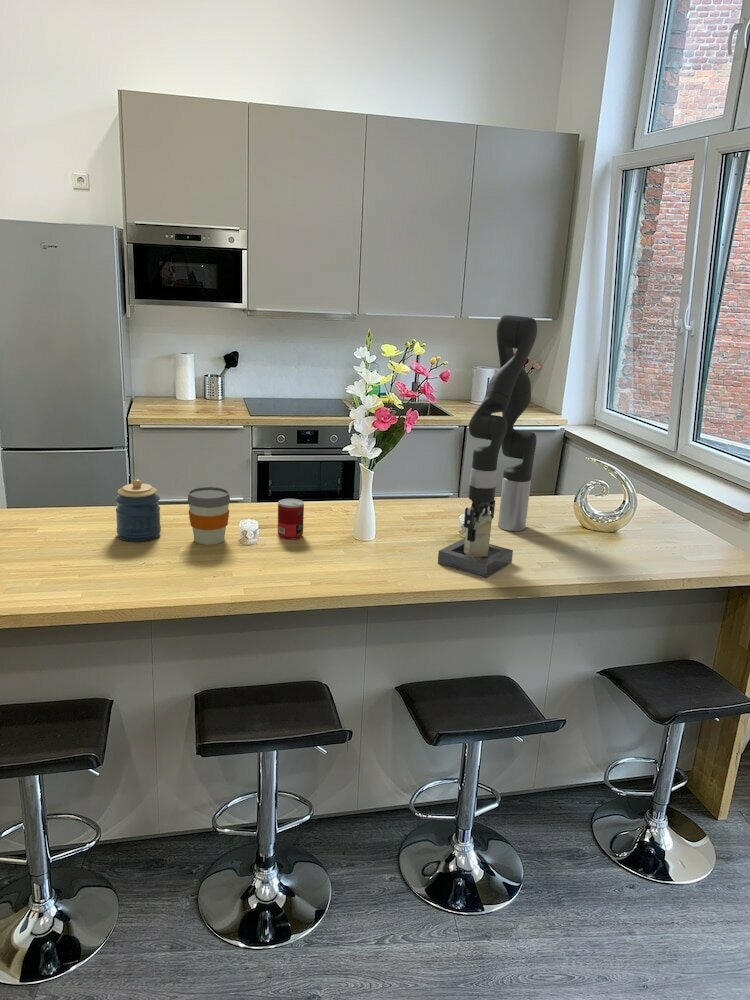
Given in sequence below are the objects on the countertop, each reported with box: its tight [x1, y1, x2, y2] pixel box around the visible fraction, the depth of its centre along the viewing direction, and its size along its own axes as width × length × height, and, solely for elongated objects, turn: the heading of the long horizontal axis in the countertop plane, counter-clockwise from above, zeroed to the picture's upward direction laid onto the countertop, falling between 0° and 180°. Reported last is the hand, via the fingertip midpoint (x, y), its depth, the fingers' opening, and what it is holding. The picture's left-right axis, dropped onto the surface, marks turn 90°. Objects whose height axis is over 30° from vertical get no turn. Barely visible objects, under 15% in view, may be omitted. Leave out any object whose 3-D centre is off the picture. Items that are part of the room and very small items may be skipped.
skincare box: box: [464, 514, 493, 558], centre depth 227 cm, size 6×4×12 cm
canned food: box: [277, 498, 305, 540], centre depth 243 cm, size 8×8×11 cm
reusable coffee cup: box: [187, 486, 231, 546], centre depth 235 cm, size 12×13×15 cm
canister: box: [114, 479, 162, 543], centre depth 235 cm, size 13×13×18 cm
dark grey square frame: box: [437, 537, 514, 579], centre depth 229 cm, size 16×16×4 cm
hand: (477, 537), depth 227 cm, fingers closed on skincare box, 7 cm apart
